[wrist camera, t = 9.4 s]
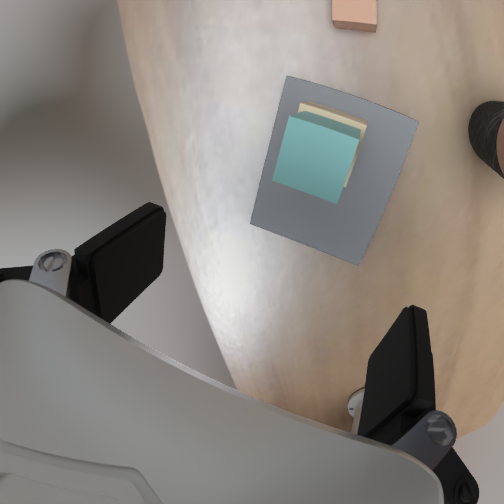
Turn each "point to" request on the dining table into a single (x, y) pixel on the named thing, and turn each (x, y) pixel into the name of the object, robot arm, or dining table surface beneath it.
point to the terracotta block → (355, 14)
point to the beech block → (341, 118)
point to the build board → (353, 195)
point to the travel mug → (489, 134)
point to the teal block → (316, 155)
